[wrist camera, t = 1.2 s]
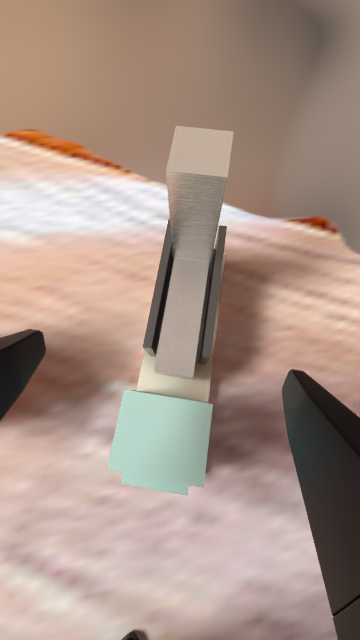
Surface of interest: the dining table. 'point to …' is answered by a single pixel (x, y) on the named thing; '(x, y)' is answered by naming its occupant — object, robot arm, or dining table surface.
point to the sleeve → (208, 305)
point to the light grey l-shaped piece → (191, 239)
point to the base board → (180, 386)
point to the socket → (161, 441)
